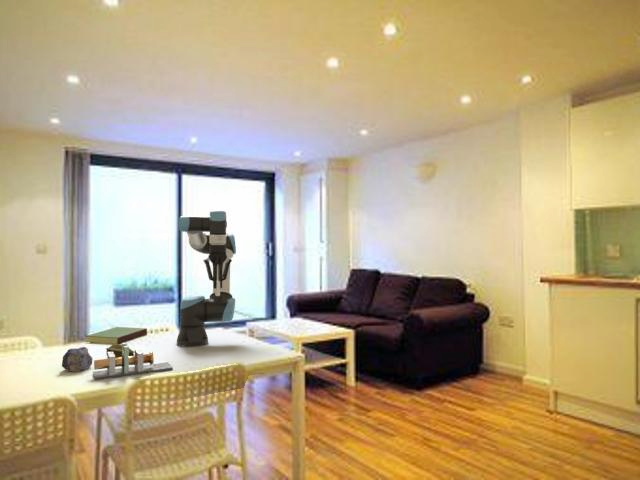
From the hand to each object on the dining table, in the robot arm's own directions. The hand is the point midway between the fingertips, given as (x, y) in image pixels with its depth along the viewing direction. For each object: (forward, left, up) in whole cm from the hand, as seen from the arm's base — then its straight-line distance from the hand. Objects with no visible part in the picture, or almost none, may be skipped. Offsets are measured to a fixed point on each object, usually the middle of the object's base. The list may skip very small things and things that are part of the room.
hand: (217, 295), depth 211 cm
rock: (-1, -57, -27) cm, 63 cm away
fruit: (-8, -40, -27) cm, 49 cm away
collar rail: (+14, -38, -26) cm, 48 cm away
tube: (+14, -41, -24) cm, 50 cm away
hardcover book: (-57, -36, -27) cm, 73 cm away
